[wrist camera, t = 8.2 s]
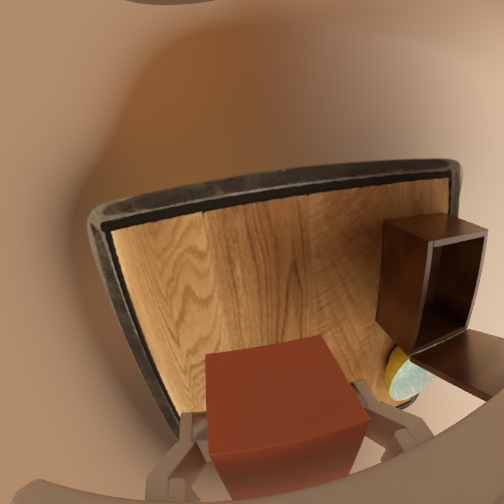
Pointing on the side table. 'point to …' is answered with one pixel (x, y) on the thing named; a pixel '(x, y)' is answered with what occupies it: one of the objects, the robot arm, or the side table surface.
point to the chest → (428, 278)
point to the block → (281, 418)
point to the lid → (467, 362)
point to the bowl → (405, 376)
